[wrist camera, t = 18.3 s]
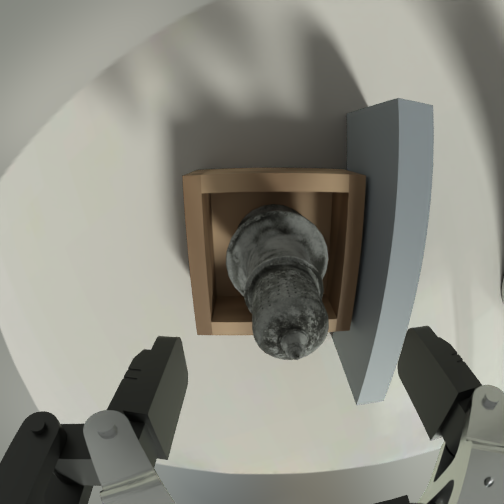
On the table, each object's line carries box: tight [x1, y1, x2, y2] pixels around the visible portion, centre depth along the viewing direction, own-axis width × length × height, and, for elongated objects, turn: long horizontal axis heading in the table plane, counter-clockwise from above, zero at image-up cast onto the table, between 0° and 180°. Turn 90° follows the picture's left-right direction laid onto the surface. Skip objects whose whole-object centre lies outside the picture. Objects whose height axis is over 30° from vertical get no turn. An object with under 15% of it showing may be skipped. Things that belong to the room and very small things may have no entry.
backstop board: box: [332, 98, 434, 405], centre depth 18 cm, size 2×18×8 cm, turn 1°
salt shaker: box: [226, 204, 329, 360], centre depth 15 cm, size 6×6×12 cm
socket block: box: [182, 168, 366, 335], centre depth 19 cm, size 10×10×4 cm
